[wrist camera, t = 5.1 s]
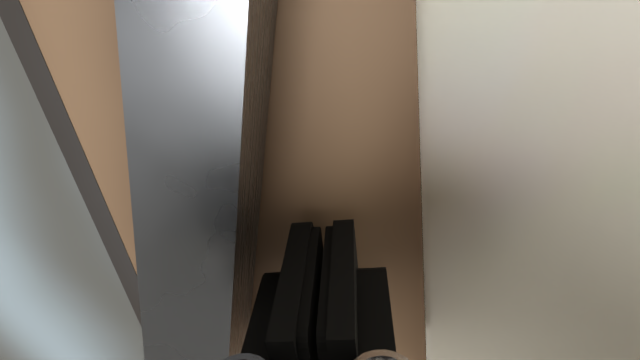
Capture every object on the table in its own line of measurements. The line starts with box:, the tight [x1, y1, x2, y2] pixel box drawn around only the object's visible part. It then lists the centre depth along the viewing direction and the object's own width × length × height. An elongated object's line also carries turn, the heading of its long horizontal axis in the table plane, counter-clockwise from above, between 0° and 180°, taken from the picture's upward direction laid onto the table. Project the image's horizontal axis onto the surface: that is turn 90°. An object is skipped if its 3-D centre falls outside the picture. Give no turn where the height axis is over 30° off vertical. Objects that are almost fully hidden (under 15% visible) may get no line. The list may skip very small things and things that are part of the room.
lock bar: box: [114, 0, 278, 360], centre depth 9 cm, size 14×3×3 cm, turn 172°
